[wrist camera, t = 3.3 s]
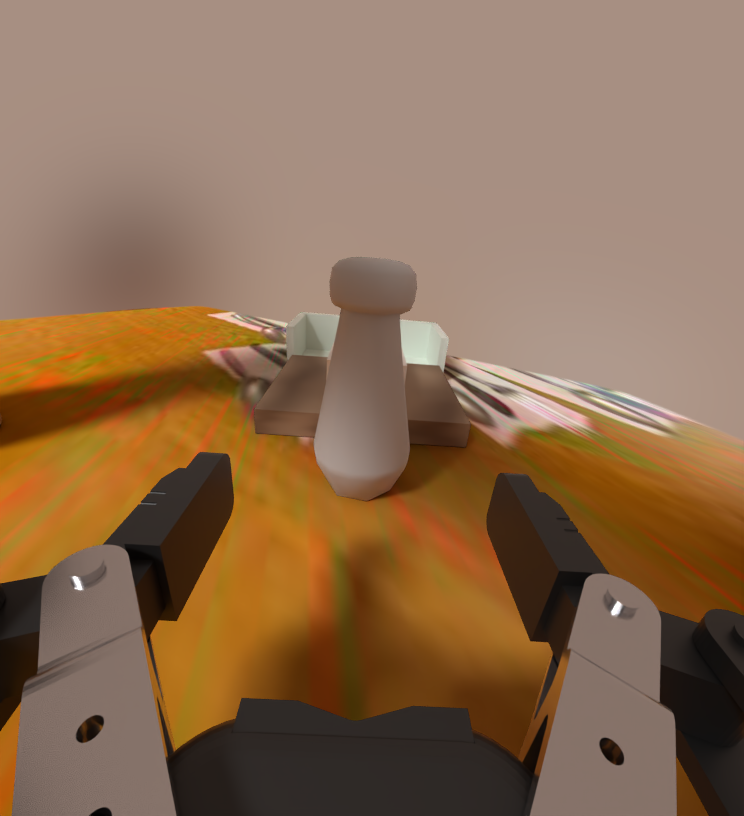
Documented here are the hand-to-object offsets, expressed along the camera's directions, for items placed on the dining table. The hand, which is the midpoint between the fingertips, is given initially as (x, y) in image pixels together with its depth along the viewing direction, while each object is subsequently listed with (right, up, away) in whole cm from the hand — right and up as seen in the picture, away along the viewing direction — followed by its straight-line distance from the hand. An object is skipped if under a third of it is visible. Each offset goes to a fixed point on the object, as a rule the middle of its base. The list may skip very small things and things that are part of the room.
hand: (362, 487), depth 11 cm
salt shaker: (-1, -2, +12) cm, 12 cm away
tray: (-1, +8, +33) cm, 34 cm away
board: (-1, +3, +23) cm, 23 cm away
